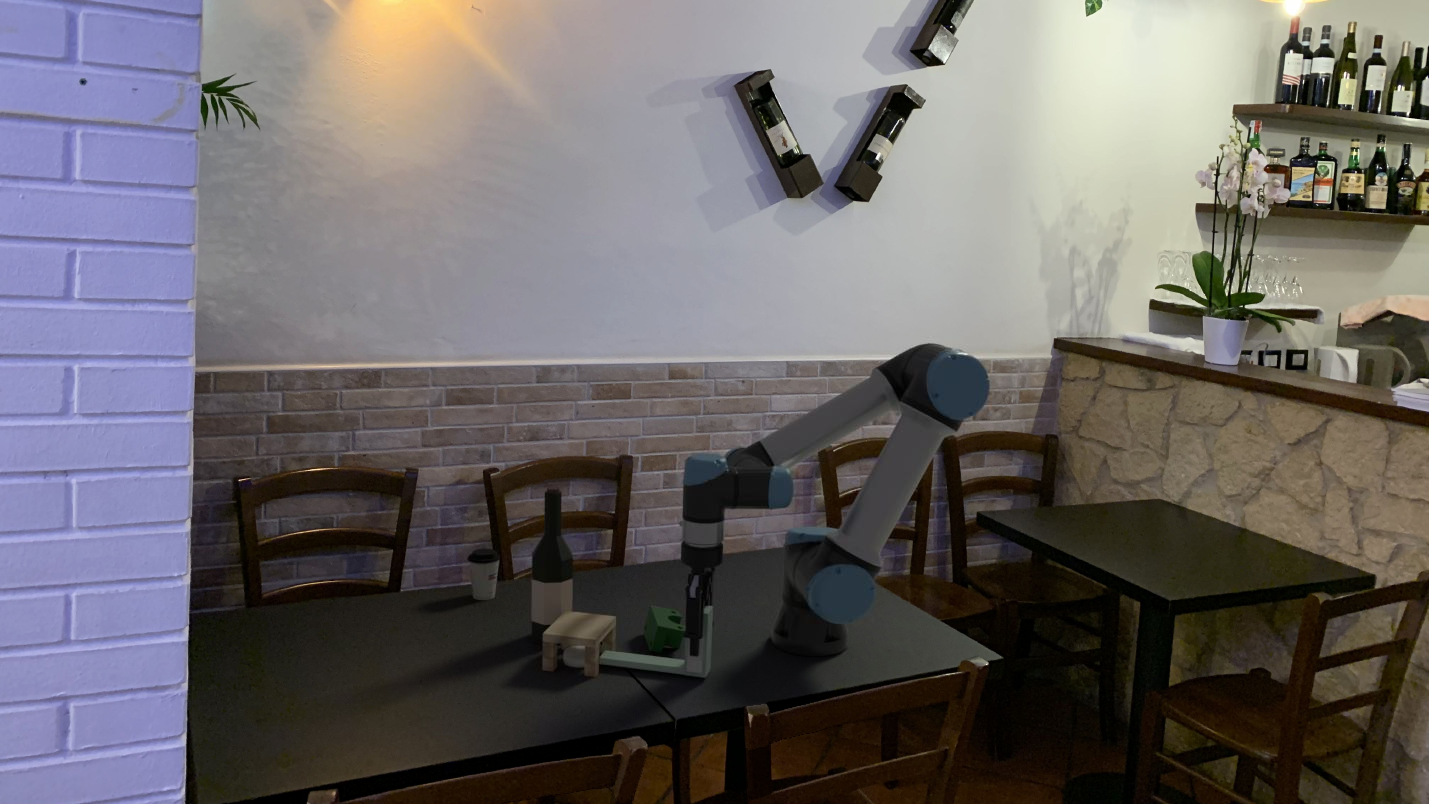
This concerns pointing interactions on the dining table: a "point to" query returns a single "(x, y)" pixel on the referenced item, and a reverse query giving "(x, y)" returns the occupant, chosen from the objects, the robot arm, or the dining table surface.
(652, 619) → the clamp
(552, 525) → the wine bottle
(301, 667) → the dining table surface
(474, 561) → the coffee cup
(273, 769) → the dining table surface
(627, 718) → the dining table surface
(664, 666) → the l-shaped bracket
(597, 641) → the riser
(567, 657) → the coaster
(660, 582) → the dining table surface
